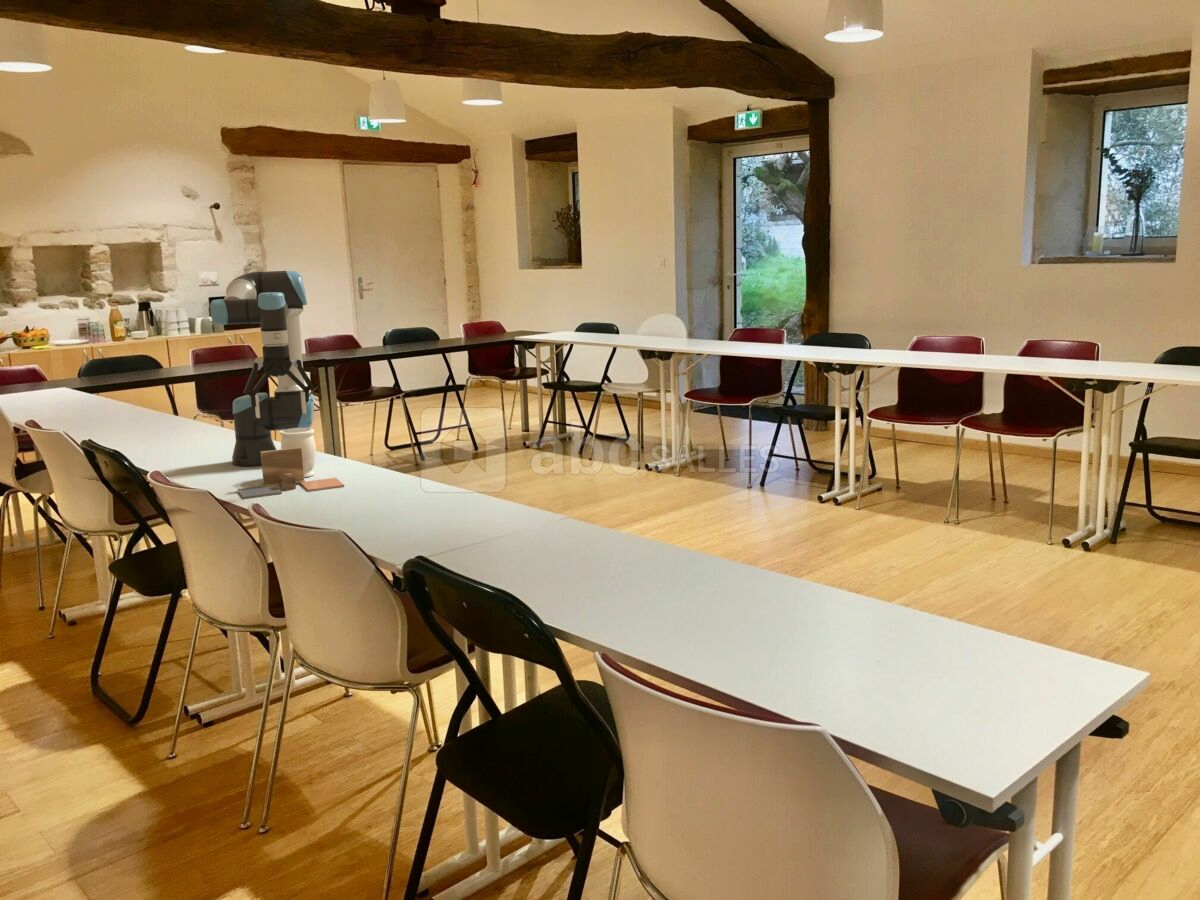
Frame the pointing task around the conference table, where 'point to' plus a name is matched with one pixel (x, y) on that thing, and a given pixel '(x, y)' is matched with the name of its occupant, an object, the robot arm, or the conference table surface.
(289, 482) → the letter cube
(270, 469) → the oak screen
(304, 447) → the jar
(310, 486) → the pad terracotta
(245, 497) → the pad slate
